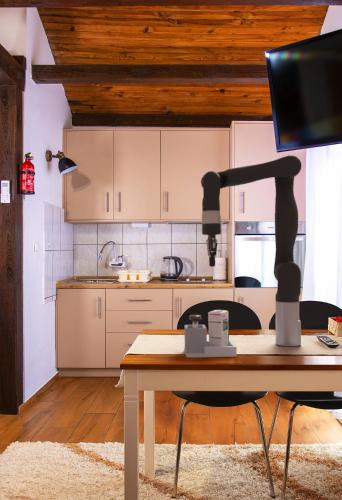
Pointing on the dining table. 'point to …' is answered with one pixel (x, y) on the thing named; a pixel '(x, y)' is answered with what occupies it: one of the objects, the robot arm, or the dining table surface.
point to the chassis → (204, 344)
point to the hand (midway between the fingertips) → (212, 266)
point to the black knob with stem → (195, 320)
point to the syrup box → (218, 328)
